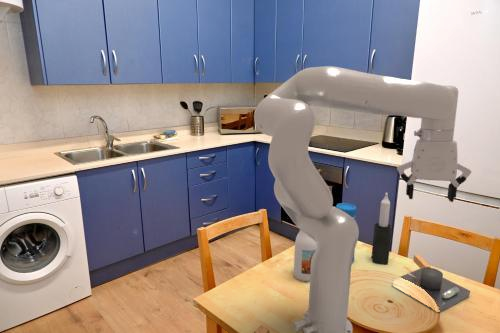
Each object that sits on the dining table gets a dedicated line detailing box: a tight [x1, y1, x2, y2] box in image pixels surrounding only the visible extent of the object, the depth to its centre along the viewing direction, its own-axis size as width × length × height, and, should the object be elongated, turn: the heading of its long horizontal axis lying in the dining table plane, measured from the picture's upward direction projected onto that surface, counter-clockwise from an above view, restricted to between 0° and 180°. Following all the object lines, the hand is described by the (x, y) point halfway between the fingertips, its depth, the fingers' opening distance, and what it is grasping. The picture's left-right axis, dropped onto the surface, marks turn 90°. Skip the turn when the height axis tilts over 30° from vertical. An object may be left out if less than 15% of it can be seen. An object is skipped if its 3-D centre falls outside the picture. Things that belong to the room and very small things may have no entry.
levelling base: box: [400, 268, 471, 313], centre depth 103 cm, size 15×15×4 cm
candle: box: [371, 192, 392, 265], centre depth 118 cm, size 5×5×25 cm
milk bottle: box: [293, 229, 317, 283], centre depth 109 cm, size 8×8×20 cm
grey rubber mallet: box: [413, 254, 444, 290], centre depth 106 cm, size 13×6×4 cm, turn 0°
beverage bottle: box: [335, 202, 357, 264], centre depth 120 cm, size 8×8×20 cm
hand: (429, 198), depth 92 cm, fingers open, 9 cm apart
